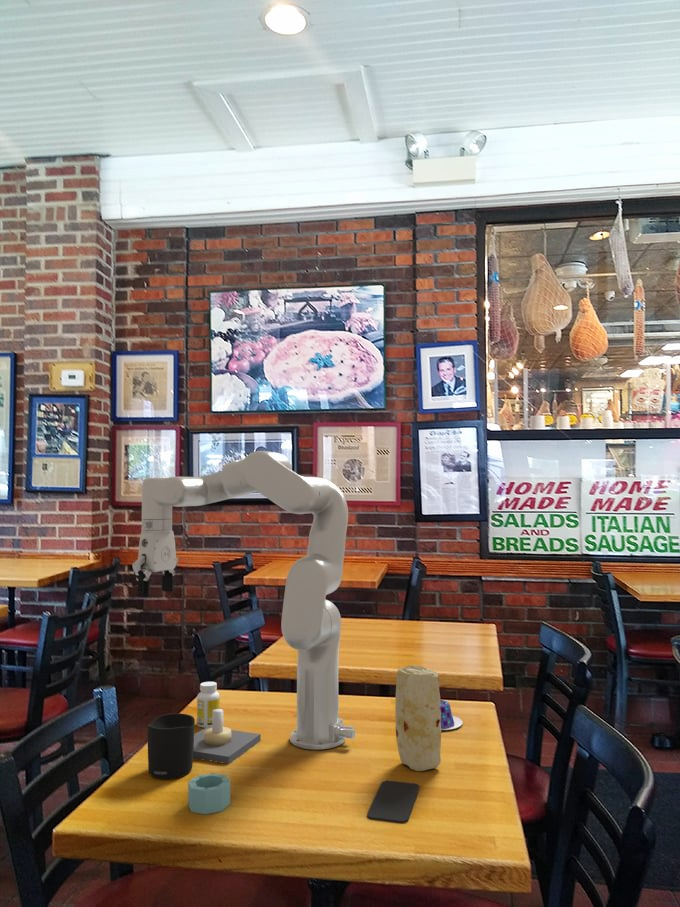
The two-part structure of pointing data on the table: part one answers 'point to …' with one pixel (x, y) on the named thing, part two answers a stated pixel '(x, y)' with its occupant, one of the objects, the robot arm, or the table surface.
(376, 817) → the phone
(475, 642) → the table surface
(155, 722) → the pen holder
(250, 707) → the table surface
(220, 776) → the ring
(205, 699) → the supplement bottle
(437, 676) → the food model
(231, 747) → the post stand
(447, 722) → the pudding
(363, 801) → the table surface
